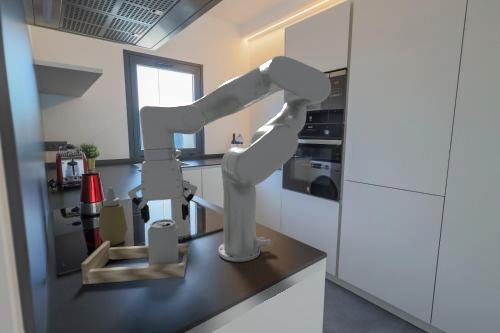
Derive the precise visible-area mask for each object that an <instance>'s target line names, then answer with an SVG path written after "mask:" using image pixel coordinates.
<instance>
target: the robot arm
mask: <svg viewBox="0 0 500 333" xmlns="http://www.w3.org/2000/svg"><path fill="white" fill-rule="evenodd" d="M331 90H332V83H331V80H330V78H329V76H328V75H327V74H326V73H325V72H323V71H322V70H319V69H317V68H315V67H313V66H310V65H308V64H306V63H304V62H301V61H299V60H297V59H295V58H292V57H289V56H284V55H277V56H274V57H272V58H271V59H269V60H268V61H266V62H265V63H263V64H260V65H258V66H257V67H255V68H252V69H250V70H249V71H247V72H245V73H242V74H240V75H238V76H236V77H234V78H232V79H230V80H228V81H225V82H224V83H223V84H221V85H220V86H218V87H217V88H215V89H214V90H213V91H211V92H209V93H208V94H206V95H204V96H203V97H201V98H199V99H197V100H195V101H193V102H190V103H183V104H178V105H164V104H163V105H160V104H151V105H144V106H142V107H141V109H140V110H139V116H140V117H139V118H140V127H141V137H142V147H143V158H144V161H142V163H141V171H140V184H139V185H137V186H135V187H134V188H132V189H130V190H129V191H127V195H128V196H129V198H130V199H131V201H132V203H134V204H135V205H136V206H137V207H138V208H139V210H140V214H141V215H140V217H141V220H143V224H147V223H149V221H150V219H151V215H150V207H149V205H148V203H149V202H152V201H154V202H155V201H164V200H165V201H166V200H167V201H168V200H171V199H179V200H180V201H181V202H182V219H183V220H186V217H187V216H188V215H189V210H188V203H189V202H190V203H191V201H192V200H193V199H194V197H195V195H196V193H197V191H198V186H197V185H194V184H192V183H190V182H189V181H186V180H185V181H186V182H185V181H184V173H183V169H182V168H183V167H182V164H181V161H180V159H178V156H182V149H179V150H178V149H177V148H176V144H175V142H176V141H175V134H181V135H194V134H197V133H199V132H201V131H202V129H203V128H204V127H205V126H207V125H209V124H210V123H213V122H215V121H217V120H219V119H222V118H224V117H227V116H231V115H233V114H237V113H239V112H241V111H244V110H245V109H247V108H248V107H250V106H252V105H254V104H256V103H258V102H260V101H262V100H264V99H265V98H267V97H270V96H271V95H274V94H275V93H277V92H280V91H284V93H283V107H282V109H281V111H280V112H278V113H277V114H276V115H275V116H274V117H272V118H271V119H270V120H269V121H267V122H266V123H265V124H264V125H262V126H261V127H260V128H258V129H257V130H256V131H254V133H253V135H252V137H251V143H250V144H251V145H250V146H248V147H244V146H234V147H232V148H229V149H228V150H227V151H226V152H225V153H224V155H223V156H222V159H221V163H220V164H221V166H220V168H221V170H220V171H221V178H222V189H223V190H222V191H223V195H222V196H223V198H222V199H223V242H222V243H221V244H220V245H219V246H218V255H219V256H220V257H221V258H222V259H224V260H225V261H229V262H235V263H240V262H241V263H243V262H249V261H252V260H254V259H256V258H258V257H259V255H260V254H261V248H262V247H271V246H272V240H271V239H266V237H265V236H264V237H263V236H261V237H258V236H257V235H256V226H257V225H256V223H257V222H256V221H257V220H256V216H257V213H256V209H257V208H256V206H257V205H256V204H257V192H256V185H259V184H261V183H263V182H264V181H265V180H267V179H268V178H269V177H271V176H272V175H273V174H274V173H275V172H276V171H278V170H279V169H280V168H281V167H282V166H284V165H285V164H286V163H287V162H288V161H289V160H290V159H291V158H292V157H293V156H294V155H295V153H296V152H297V149H298V147H299V136H298V134H299V133H300V132H301V131H302V130H303V128H304V127H305V124H306V120H307V106H312V105H315V104H316V105H317V104H320V103H323V102H324V101H326V100H327V99H328V97H329V96H330V94H331ZM188 182H189V183H188ZM184 187H185V188H188V189H190V190H189V191H190V194H189V195H188V196H187V197H186V196H185V195H184V194H183V193H184ZM140 191H141V196H142V197H141V198H142V199H141V198H140V197H139V196H138V195H137V193H138V192H140Z"/></svg>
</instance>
